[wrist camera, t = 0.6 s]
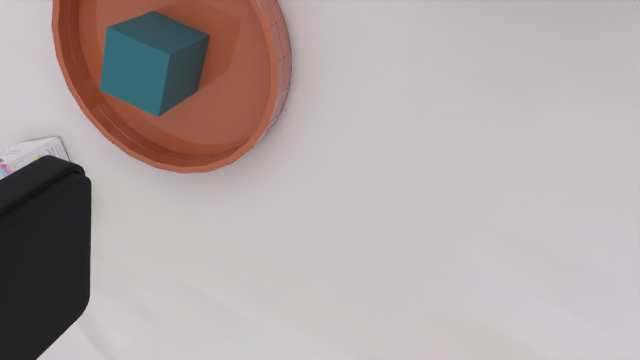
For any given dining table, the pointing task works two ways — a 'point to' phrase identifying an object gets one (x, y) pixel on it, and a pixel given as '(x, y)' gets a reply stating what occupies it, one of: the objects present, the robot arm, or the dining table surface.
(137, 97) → the block
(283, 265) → the dining table surface
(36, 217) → the robot arm
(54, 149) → the ink box
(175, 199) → the dining table surface
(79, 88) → the bowl
